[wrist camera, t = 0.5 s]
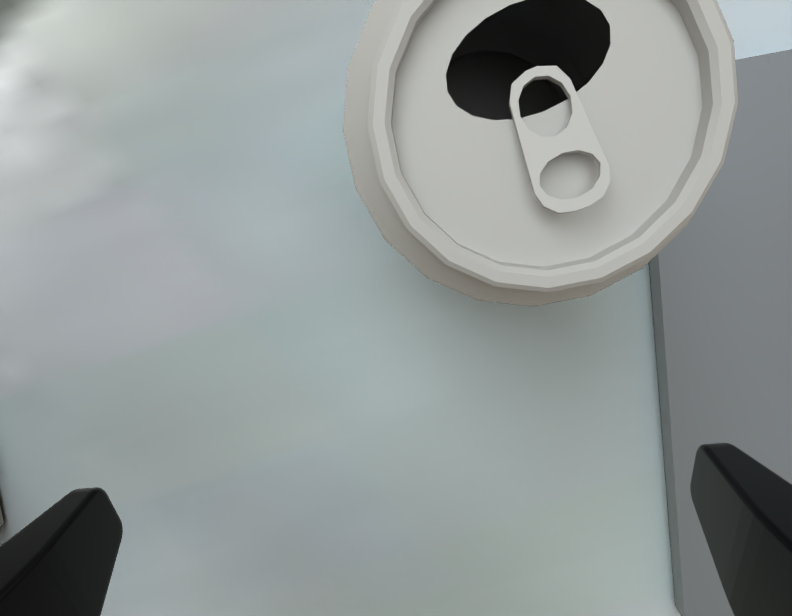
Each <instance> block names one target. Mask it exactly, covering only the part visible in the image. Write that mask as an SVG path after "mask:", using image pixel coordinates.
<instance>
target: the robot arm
mask: <svg viewBox="0 0 792 616" xmlns="http://www.w3.org/2000/svg"><path fill="white" fill-rule="evenodd" d="M690 492H691V498H692V501H693V504H694V507H695V510H696V513H697V516H698V519H699V521H700V524H701V527H702V530H703V533H704V536H705V538H706V541H707V544H708V547H709V550H710V553H711V555H712V558H713V561H714V564H715V567H716V570H717V572H718V575H719V578H720V581H721V584H722V587H723V589H724V592H725V595H726V597H727V600H728V602H729V605H730V607H731V609H732V612H733V614H734V616H792V484H791V483H789V482H788V481H786V480H785V479H783V478H782V477H780V476H779V475H777V474H776V473H774V472H773V471H771V470H770V469H768V468H767V467H765V466H764V465H762V464H761V463H759V462H758V461H757V460H755V459H754V458H752V457H751V456H749V455H748V454H746V453H745V452H743V451H742V450H740V449H739V448H737V447H736V446H734V445H732V444H730V443H714V444H703V445H700V446H699V447H698V449H697V451H696V455H695V461H694V466H693V471H692V477H691V482H690ZM122 532H123V530H122V523H121V520H120V518H119V516H118V514H117V512H116V510H115V508H114V507H113V505H112V503H111V501H110V499H109V497H108V495H107V493H106V492H105V491H104V490H103V489H101V488H83V489H76V490H73V491H71V492H70V493H69V494H67V495H66V496H65V497H63V498H62V499H61V500H60V501H58V502H57V503H56V504H54V505H53V506H52V507H51V508H49V509H48V510H47V511H45V512H44V513H43V514H42V515H40V516H39V517H38V518H36V519H35V520H34V521H33V522H31V523H30V524H29V525H27V526H26V527H25V528H23V529H22V530H21V531H20V532H18V533H17V534H16V535H14V536H13V537H12V538H11V539H9V540H8V541H7V542H5V543H4V544H3V545H2V546H0V616H100V615H101V611H102V608H103V604H104V601H105V597H106V593H107V590H108V586H109V582H110V579H111V575H112V572H113V568H114V564H115V561H116V557H117V553H118V550H119V546H120V543H121V539H122Z"/></svg>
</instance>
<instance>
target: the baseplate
mask: <svg viewBox="0 0 792 616" xmlns="http://www.w3.org/2000/svg"><path fill="white" fill-rule="evenodd" d="M735 65H736V79H737V93H738V106H737V110H736V114H735V118H734V123H733V127H732V131H731V135H730V139H729V144H728V148H727V152H726V156H725V160H724V163H723V165H722V167H721V169H720V170H719V172H718V174H717V176H716V177H715V179H714V181H713V183H712V184H711V186H710V188H709V189H708V191H707V193H706V195H705V196H704V198H703V200H702V202H701V203H700V205H699V207H698V209H697V210H696V212H695V214H694V215H693V216H692V217H691V219H690V221H689V223H688V224H687V226H686V227H685V228H684V229H683V230H682V231H681V232H680V233H679V234H678V235H677V236H675V237H674V238H673V239H672V240H671V241H670V242H669V243H668V244H667V245H666V246H665V247H664V248H663V249H662V250H661V251H660V252H659V253H658V254H657V255H656V256H655V257H654V258H653V259H651V260H650V261H649V267H650V280H651V293H652V307H653V320H654V333H655V346H656V359H657V372H658V385H659V399H660V412H661V425H662V438H663V451H664V464H665V478H666V491H667V504H668V517H669V530H670V543H671V557H672V570H673V583H674V596H675V605H676V607H677V609H678V611H679V613H680V614H681V616H734V614H733V612H732V609H731V607H730V605H729V602H728V600H727V597H726V595H725V592H724V589H723V587H722V584H721V581H720V578H719V575H718V572H717V570H716V567H715V564H714V561H713V558H712V555H711V553H710V550H709V547H708V544H707V541H706V538H705V536H704V533H703V530H702V527H701V524H700V521H699V519H698V516H697V513H696V510H695V507H694V504H693V501H692V498H691V492H690V482H691V477H692V471H693V466H694V461H695V455H696V451H697V449H698V447H699V446H700V445H703V444H714V443H730V444H732V445H734V446H736V447H737V448H739V449H740V450H742V451H743V452H745V453H746V454H748V455H749V456H751V457H752V458H754V459H755V460H757V461H758V462H759V463H761V464H762V465H764V466H765V467H767V468H768V469H770V470H771V471H773V472H774V473H776V474H777V475H779V476H780V477H782V478H783V479H785V480H786V481H788V482H789V483H791V484H792V50H786V51H781V52H776V53H770V54H765V55H760V56H755V57H749V58H744V59H739V60H735Z"/></svg>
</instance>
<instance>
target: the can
mask: <svg viewBox="0 0 792 616" xmlns="http://www.w3.org/2000/svg"><path fill="white" fill-rule="evenodd" d="M737 106H738V93H737V79H736V65H735V51H734V40H733V38H732V36H731V33H730V31H729V29H728V26H727V24H726V21H725V19H724V17H723V14H722V12H721V9H720V7H719V5H718V2H717V0H377V1H376V2H375V3H374V5H373V6H372V8H371V10H370V13H369V15H368V18H367V20H366V23H365V25H364V28H363V31H362V33H361V36H360V38H359V41H358V43H357V46H356V48H355V51H354V53H353V56H352V59H351V61H350V64H349V66H348V73H347V85H346V98H345V111H344V124H343V133H344V138H345V142H346V147H347V151H348V155H349V160H350V164H351V169H352V173H353V178H354V182H355V187H356V190H357V192H358V194H359V195H360V197H361V199H362V201H363V202H364V204H365V206H366V207H367V209H368V211H369V213H370V214H371V216H372V218H373V220H374V221H375V223H376V225H377V226H378V228H379V230H380V232H381V233H382V235H383V237H384V238H385V240H386V241H387V242H388V243H389V244H391V245H392V246H393V247H394V248H395V249H396V250H397V251H398V252H399V253H400V254H402V255H403V256H404V257H405V258H406V259H407V260H408V261H409V262H410V263H412V264H413V265H414V266H415V267H416V268H417V269H418V270H419V271H420V272H422V273H423V274H424V275H425V276H426V277H427V278H429V279H432V280H434V281H436V282H438V283H441V284H443V285H445V286H447V287H449V288H452V289H454V290H456V291H458V292H461V293H463V294H465V295H467V296H470V297H472V298H474V299H476V300H481V301H490V302H499V303H507V304H516V305H525V306H538V305H543V304H549V303H554V302H559V301H564V300H570V299H575V298H580V297H585V296H590V295H592V294H594V293H596V292H598V291H600V290H602V289H603V288H605V287H607V286H609V285H611V284H613V283H615V282H617V281H619V280H621V279H623V278H625V277H627V276H628V275H630V274H632V273H634V272H636V271H638V270H640V269H642V268H643V267H644V266H645V265H646V264H647V263H648V262H649V261H650V260H651V259H653V258H654V257H655V256H656V255H657V254H658V253H659V252H660V251H661V250H662V249H663V248H664V247H665V246H666V245H667V244H668V243H669V242H670V241H671V240H672V239H673V238H674V237H675V236H677V235H678V234H679V233H680V232H681V231H682V230H683V229H684V228H685V227H686V226H687V224H688V223H689V221H690V219H691V217H692V216H693V215H694V214H695V212H696V210H697V209H698V207H699V205H700V203H701V202H702V200H703V198H704V196H705V195H706V193H707V191H708V189H709V188H710V186H711V184H712V183H713V181H714V179H715V177H716V176H717V174H718V172H719V170H720V169H721V167H722V165H723V163H724V160H725V156H726V152H727V148H728V144H729V139H730V135H731V131H732V127H733V123H734V118H735V114H736V110H737Z"/></svg>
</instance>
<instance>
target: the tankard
mask: <svg viewBox="0 0 792 616" xmlns="http://www.w3.org/2000/svg"><path fill="white" fill-rule="evenodd" d="M3 523H4V522H3V517H2V512H1V507H0V527H1V525H2V524H3Z"/></svg>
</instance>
